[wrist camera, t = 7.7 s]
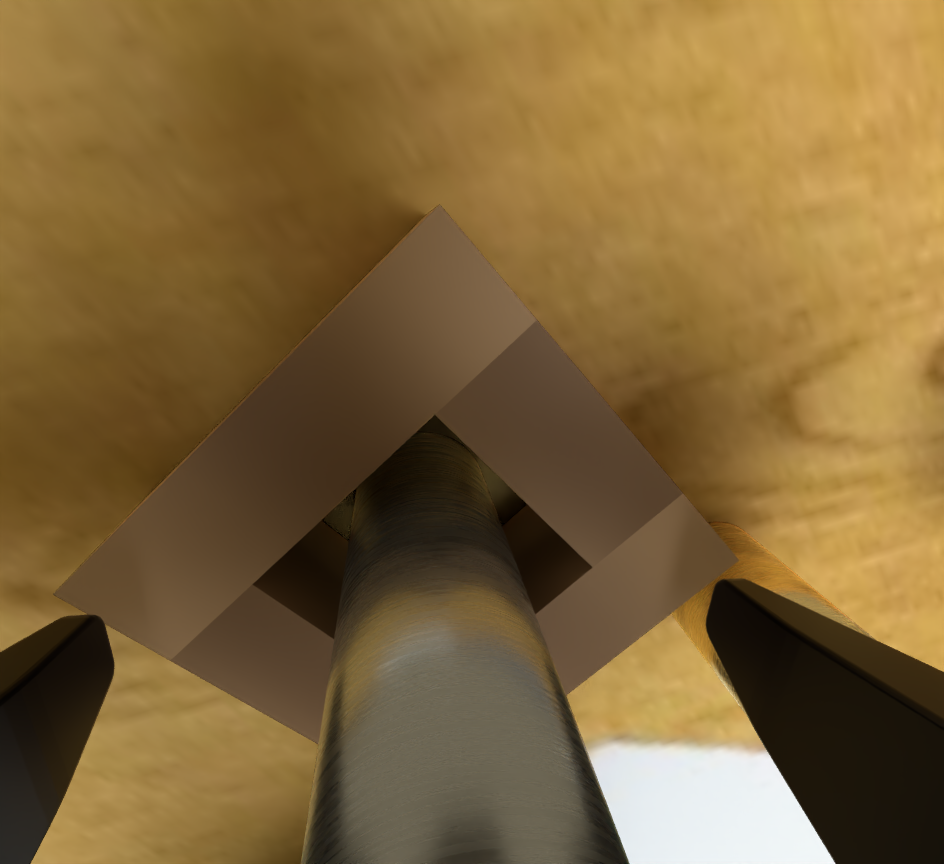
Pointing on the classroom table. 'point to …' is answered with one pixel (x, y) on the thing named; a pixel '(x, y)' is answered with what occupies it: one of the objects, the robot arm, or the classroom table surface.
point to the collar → (361, 452)
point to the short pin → (761, 571)
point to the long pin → (445, 690)
